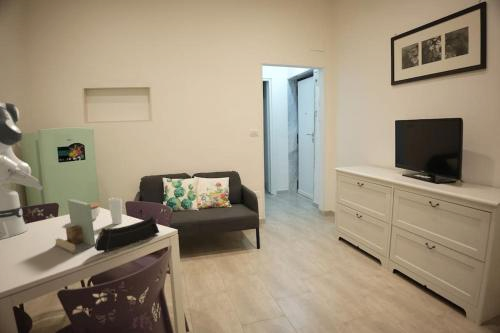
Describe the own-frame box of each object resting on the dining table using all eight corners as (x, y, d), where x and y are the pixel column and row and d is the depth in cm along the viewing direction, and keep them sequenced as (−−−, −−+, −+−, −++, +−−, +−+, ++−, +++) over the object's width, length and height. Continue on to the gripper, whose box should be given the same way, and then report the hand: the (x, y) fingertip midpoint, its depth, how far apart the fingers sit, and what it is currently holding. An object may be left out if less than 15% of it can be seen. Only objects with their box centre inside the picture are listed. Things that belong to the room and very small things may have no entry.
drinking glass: (118, 225, 163) (116, 200, 161) (108, 224, 164) (105, 200, 162) (126, 221, 169) (123, 197, 167) (116, 220, 171) (113, 197, 168)
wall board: (73, 253, 128) (67, 209, 125) (55, 245, 138) (49, 204, 134) (95, 245, 136) (90, 203, 133) (77, 238, 146) (71, 199, 143)
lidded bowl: (104, 218, 175) (102, 201, 174) (81, 224, 166) (79, 206, 165) (97, 214, 184) (95, 198, 182) (75, 219, 175) (73, 202, 173)
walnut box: (71, 246, 133) (69, 230, 132) (66, 244, 136) (64, 228, 135) (83, 242, 138) (81, 226, 136) (78, 240, 140) (76, 225, 139)
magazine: (159, 215, 150) (100, 214, 128) (162, 217, 148) (103, 215, 125) (153, 247, 149) (93, 251, 127) (156, 249, 147) (95, 253, 124)
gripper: (20, 164, 108) (52, 184, 118) (2, 161, 120) (32, 179, 129) (8, 177, 105) (42, 196, 115) (-10, 173, 117) (22, 191, 126)
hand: (37, 187), depth 122 cm, fingers open, 8 cm apart
